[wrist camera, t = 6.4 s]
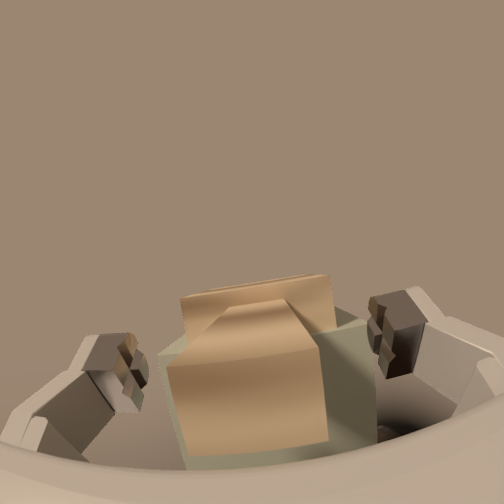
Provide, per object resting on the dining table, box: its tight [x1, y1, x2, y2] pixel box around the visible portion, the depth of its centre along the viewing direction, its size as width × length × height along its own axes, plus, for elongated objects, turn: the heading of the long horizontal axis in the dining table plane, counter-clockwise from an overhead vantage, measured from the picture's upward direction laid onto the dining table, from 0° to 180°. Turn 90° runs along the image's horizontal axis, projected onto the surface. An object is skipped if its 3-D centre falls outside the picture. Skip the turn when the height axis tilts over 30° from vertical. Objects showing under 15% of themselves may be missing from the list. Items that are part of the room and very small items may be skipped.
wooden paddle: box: [166, 274, 337, 456], centre depth 14 cm, size 18×7×2 cm, turn 178°
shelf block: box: [157, 306, 377, 470], centre depth 17 cm, size 10×9×26 cm
